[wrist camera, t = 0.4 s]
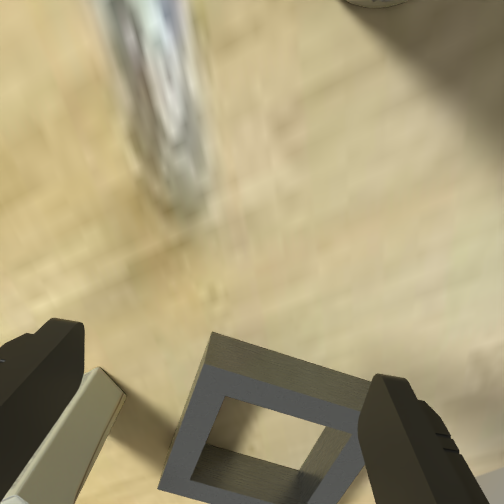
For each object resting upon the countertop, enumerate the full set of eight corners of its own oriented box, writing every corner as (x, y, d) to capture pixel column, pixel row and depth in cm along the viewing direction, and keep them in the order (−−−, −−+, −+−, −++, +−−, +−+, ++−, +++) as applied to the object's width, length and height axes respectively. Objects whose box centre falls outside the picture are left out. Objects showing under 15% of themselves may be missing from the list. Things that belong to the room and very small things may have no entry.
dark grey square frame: (211, 331, 32) (203, 363, 28) (381, 385, 33) (395, 422, 29) (168, 450, 38) (157, 489, 34) (312, 491, 39) (315, 532, 36)
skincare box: (82, 417, 37) (-1, 559, 26) (51, 388, 35) (-51, 524, 24) (130, 394, 35) (63, 535, 24) (99, 362, 34) (13, 496, 23)
